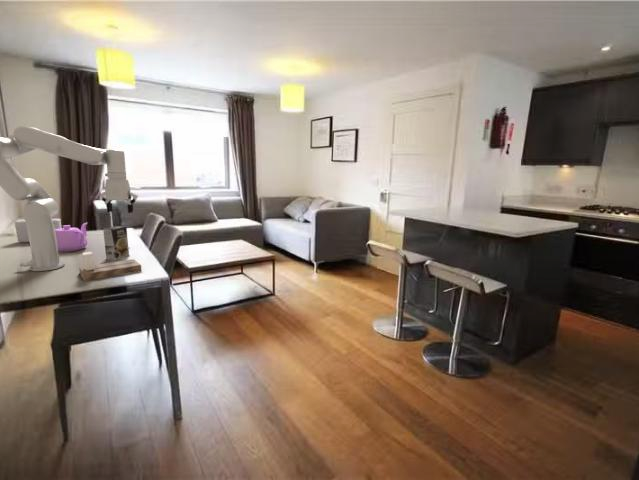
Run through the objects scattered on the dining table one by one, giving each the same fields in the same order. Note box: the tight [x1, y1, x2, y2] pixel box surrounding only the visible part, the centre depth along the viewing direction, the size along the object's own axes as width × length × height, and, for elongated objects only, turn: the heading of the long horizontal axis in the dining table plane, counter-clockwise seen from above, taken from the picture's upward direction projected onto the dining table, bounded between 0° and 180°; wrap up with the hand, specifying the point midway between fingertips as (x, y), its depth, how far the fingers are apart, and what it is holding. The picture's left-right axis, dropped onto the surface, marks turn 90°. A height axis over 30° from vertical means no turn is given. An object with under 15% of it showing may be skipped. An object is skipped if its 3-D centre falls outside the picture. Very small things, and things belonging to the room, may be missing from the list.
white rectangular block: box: [82, 251, 95, 271], centre depth 144 cm, size 3×4×7 cm
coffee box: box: [102, 225, 130, 261], centre depth 172 cm, size 9×6×16 cm
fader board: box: [78, 258, 142, 282], centre depth 150 cm, size 22×12×3 cm, turn 133°
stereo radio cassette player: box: [14, 218, 63, 243], centre depth 201 cm, size 21×8×20 cm, turn 115°
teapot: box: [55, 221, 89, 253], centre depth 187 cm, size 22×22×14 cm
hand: (120, 212), depth 160 cm, fingers open, 9 cm apart
